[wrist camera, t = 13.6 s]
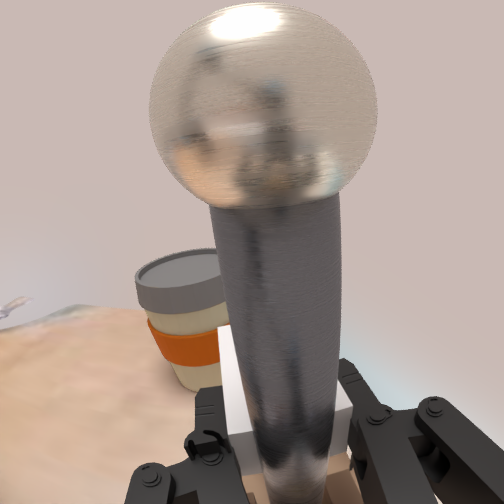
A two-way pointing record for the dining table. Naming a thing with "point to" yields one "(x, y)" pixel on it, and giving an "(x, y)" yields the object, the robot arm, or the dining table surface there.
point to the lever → (273, 207)
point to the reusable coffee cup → (186, 313)
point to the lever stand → (335, 492)
